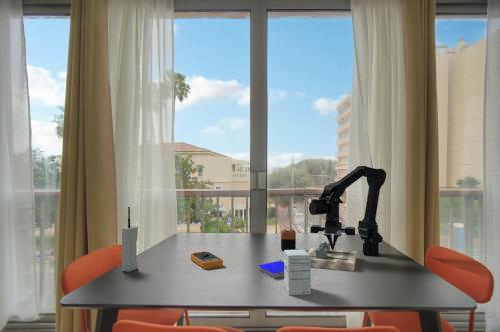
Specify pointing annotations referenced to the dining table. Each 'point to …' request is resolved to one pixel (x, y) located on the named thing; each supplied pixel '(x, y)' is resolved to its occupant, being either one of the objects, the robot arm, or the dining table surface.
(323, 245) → the switch tab
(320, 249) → the switch tab
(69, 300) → the dining table surface
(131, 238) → the vintage mobile phone
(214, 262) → the multimeter
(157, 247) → the dining table surface
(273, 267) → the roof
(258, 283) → the dining table surface
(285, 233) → the battery
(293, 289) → the supplement box
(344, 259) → the switch board
